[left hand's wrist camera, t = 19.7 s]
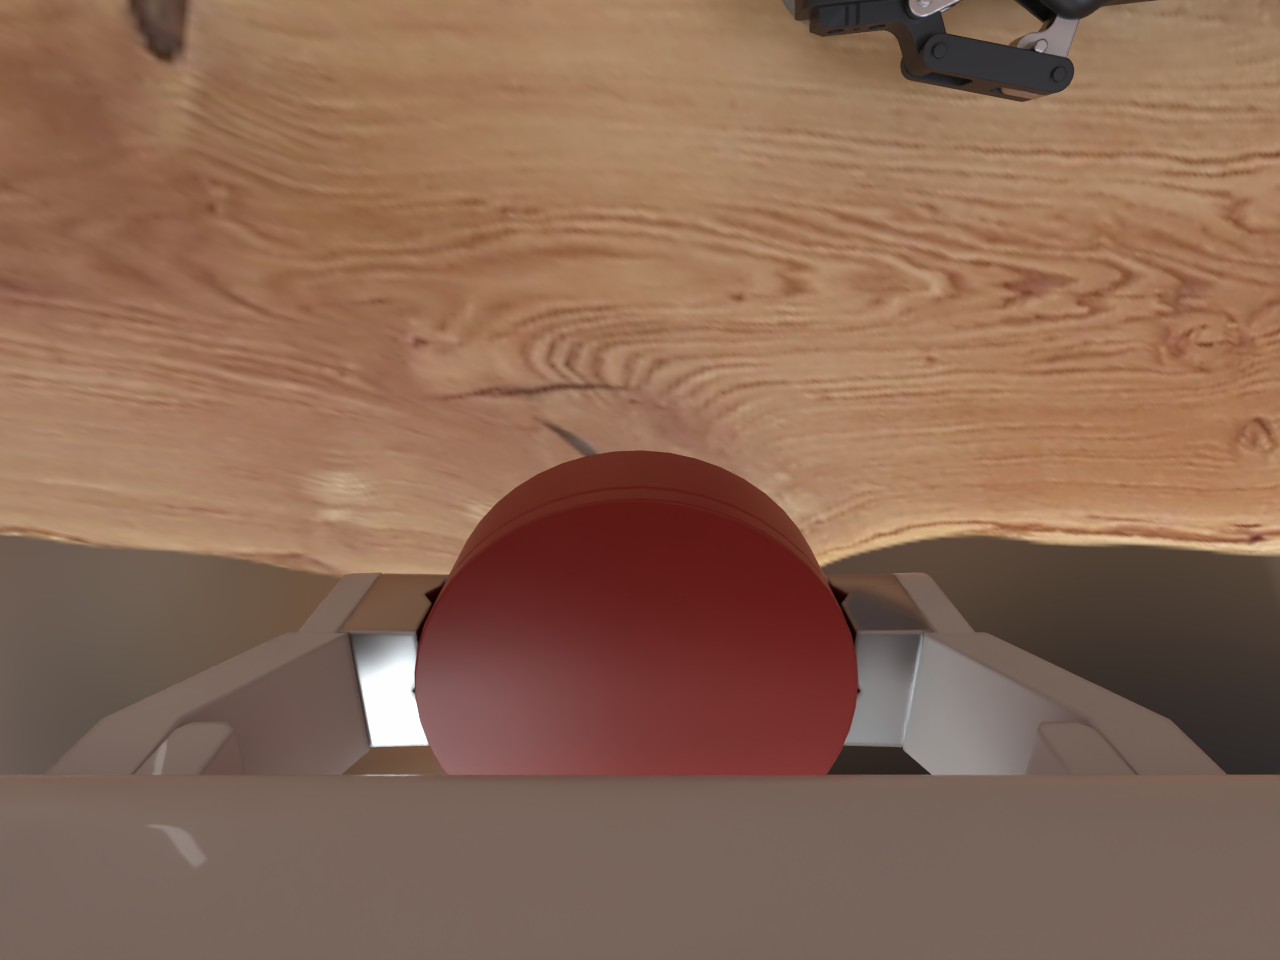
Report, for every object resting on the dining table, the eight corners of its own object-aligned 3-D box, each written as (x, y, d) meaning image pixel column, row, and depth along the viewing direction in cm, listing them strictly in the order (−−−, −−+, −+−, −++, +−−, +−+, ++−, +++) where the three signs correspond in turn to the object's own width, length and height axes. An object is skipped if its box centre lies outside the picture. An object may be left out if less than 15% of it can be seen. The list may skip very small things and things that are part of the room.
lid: (748, 801, 11) (766, 897, 10) (419, 725, 11) (381, 814, 9) (886, 511, 9) (936, 572, 8) (491, 400, 9) (459, 442, 7)
